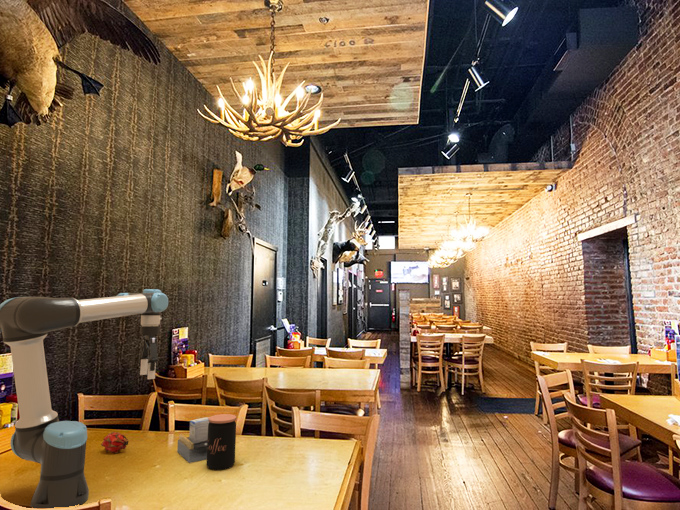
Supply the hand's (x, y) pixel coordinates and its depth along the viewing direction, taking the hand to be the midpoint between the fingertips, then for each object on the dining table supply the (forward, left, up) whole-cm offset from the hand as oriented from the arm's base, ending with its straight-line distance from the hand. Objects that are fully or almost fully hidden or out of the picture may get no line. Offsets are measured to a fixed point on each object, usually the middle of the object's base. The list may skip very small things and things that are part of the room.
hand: (147, 376), depth 177 cm
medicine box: (-11, -20, -27) cm, 35 cm away
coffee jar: (-29, -22, -32) cm, 48 cm away
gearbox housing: (-11, -21, -32) cm, 40 cm away
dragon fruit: (+13, +8, -32) cm, 35 cm away
